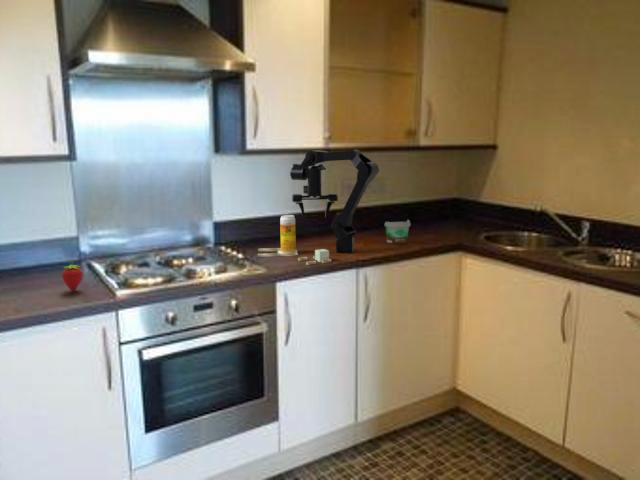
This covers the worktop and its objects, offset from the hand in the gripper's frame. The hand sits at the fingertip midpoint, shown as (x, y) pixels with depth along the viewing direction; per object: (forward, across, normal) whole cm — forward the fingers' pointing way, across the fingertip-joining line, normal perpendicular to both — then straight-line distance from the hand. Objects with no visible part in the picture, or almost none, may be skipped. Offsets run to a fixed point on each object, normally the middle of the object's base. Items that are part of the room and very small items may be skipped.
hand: (314, 217), depth 233 cm
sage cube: (+13, -1, +23) cm, 26 cm away
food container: (+13, -38, -4) cm, 40 cm away
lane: (+13, +17, +8) cm, 23 cm away
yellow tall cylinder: (+13, +12, +8) cm, 19 cm away
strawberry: (+13, +81, +56) cm, 99 cm away
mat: (+13, +12, +8) cm, 20 cm away
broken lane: (+13, +2, +24) cm, 27 cm away
